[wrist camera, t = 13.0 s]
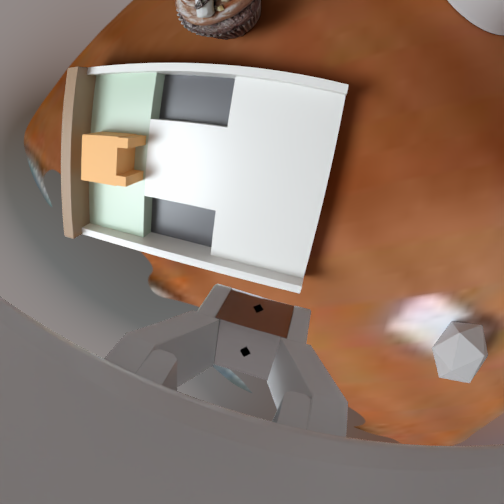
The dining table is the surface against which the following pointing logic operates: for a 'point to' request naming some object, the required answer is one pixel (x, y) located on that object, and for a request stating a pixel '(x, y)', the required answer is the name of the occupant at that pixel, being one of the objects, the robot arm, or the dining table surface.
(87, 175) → the block
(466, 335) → the die
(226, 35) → the cupcake
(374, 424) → the dining table surface
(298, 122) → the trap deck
